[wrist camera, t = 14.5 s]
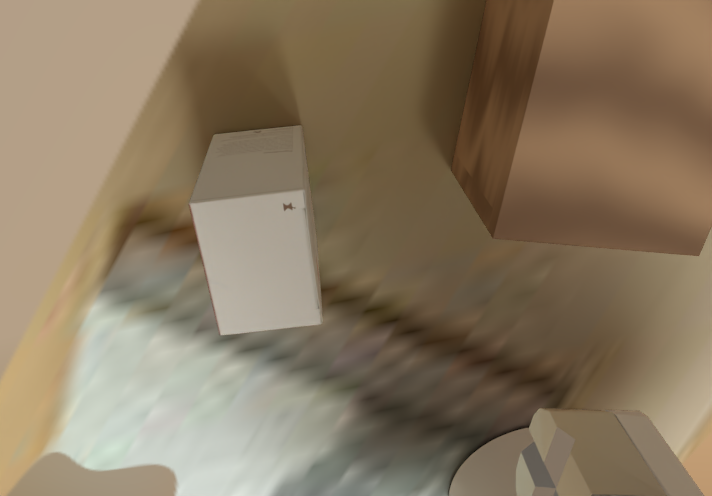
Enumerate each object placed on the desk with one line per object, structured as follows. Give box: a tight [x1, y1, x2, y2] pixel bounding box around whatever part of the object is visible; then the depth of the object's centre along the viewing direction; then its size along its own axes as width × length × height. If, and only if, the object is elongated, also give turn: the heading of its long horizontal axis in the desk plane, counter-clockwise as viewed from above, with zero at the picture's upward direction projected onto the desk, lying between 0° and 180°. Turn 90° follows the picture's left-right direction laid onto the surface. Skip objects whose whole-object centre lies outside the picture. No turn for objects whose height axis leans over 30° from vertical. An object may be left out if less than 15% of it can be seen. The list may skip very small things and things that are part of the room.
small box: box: [189, 125, 323, 335], centre depth 36 cm, size 8×6×10 cm
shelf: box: [451, 0, 712, 256], centre depth 34 cm, size 14×11×10 cm
